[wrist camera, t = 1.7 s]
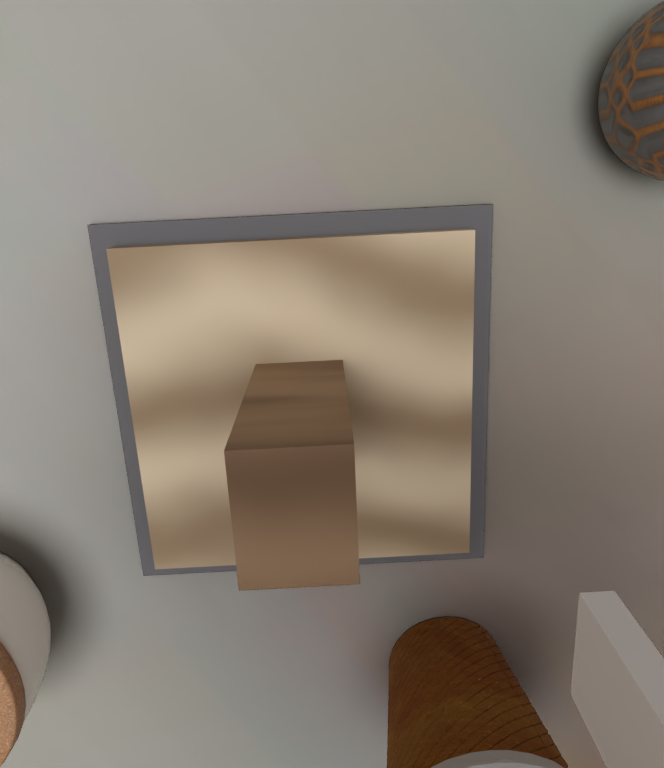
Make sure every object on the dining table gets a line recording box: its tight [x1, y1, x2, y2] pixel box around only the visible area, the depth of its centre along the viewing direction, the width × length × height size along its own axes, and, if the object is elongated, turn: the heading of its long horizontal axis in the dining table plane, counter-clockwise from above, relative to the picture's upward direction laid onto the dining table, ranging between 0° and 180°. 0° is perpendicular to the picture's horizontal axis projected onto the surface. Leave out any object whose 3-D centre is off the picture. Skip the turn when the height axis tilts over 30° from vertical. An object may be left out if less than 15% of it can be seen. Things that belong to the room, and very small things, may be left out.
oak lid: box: [106, 229, 475, 591], centre depth 25 cm, size 16×16×11 cm
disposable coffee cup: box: [387, 617, 568, 768], centre depth 30 cm, size 10×10×12 cm
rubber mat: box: [88, 204, 493, 576], centre depth 31 cm, size 18×18×1 cm
